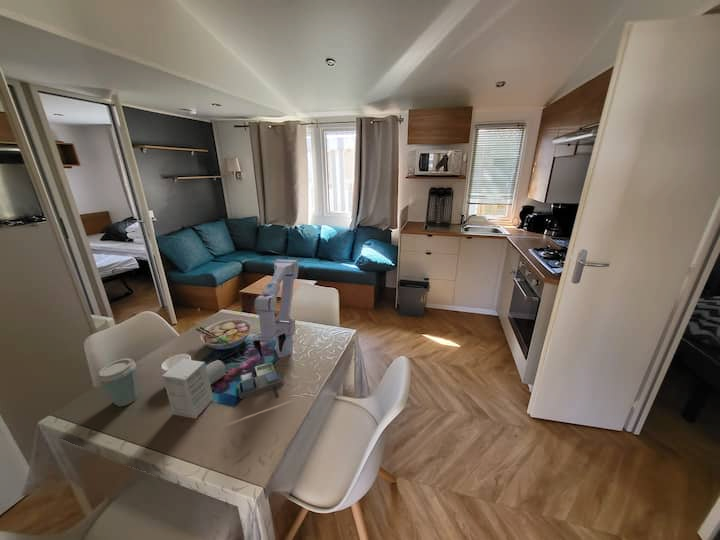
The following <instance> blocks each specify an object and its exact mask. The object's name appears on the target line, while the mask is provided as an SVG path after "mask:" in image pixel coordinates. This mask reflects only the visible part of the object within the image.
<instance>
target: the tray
mask: <svg viewBox="0 0 720 540" xmlns="http://www.w3.org/2000/svg"><path fill="white" fill-rule="evenodd" d="M254 370H255V373H256V377H258V376H261V375H264V374H267V373H271V372H274V371H276V369H275V367H274V365H273V361H271V362H268V363H264V364H263V363H262V364H260V365H256V366H254Z"/></svg>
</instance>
